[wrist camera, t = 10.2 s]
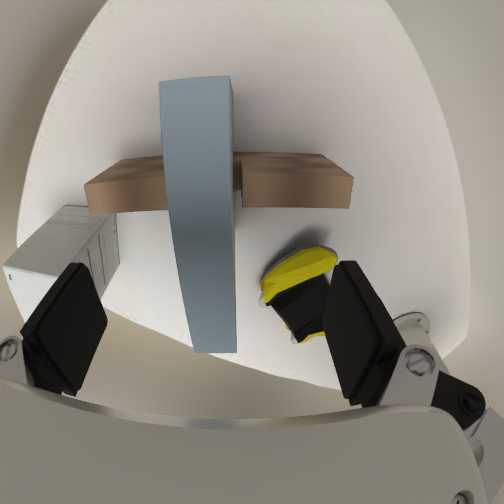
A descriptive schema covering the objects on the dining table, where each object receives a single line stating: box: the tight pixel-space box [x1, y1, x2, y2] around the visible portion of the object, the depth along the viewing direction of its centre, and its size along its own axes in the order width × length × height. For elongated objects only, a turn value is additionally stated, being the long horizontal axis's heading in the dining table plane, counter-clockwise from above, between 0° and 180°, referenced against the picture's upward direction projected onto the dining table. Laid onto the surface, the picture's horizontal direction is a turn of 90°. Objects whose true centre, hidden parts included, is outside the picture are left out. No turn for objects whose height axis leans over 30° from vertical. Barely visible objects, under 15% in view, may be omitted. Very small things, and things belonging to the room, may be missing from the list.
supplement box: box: [3, 206, 119, 323], centre depth 23 cm, size 7×7×13 cm
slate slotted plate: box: [159, 76, 237, 353], centre depth 18 cm, size 14×2×16 cm, turn 179°
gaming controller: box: [259, 243, 338, 344], centre depth 32 cm, size 15×6×10 cm
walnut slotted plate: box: [84, 152, 354, 215], centre depth 22 cm, size 20×2×8 cm, turn 89°
